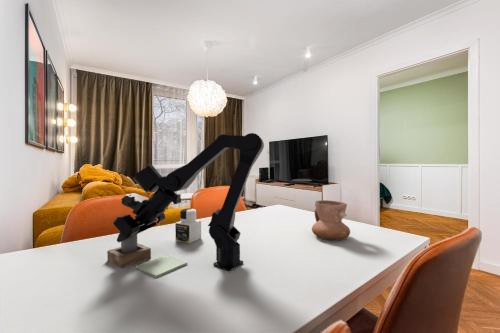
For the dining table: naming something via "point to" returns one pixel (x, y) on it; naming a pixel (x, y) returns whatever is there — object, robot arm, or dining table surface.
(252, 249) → the dining table surface
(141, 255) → the walnut collar
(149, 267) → the green mat
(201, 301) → the dining table surface
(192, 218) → the medicine bottle
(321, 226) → the ceramic jug
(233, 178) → the robot arm
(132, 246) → the plug
